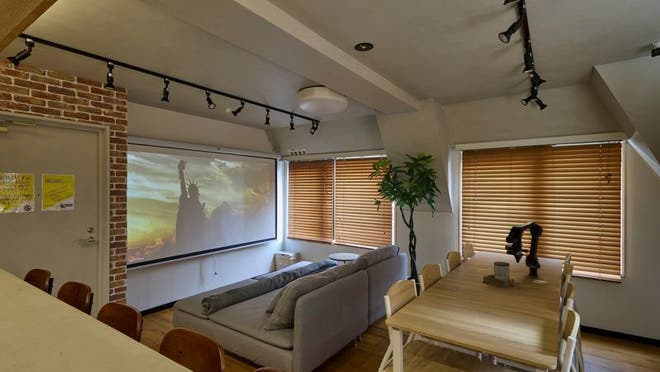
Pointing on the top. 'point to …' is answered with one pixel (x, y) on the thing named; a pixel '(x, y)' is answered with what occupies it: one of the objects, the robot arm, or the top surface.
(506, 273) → the coffee can
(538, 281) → the cork mat
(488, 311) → the top surface
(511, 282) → the walnut holder
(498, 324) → the top surface
